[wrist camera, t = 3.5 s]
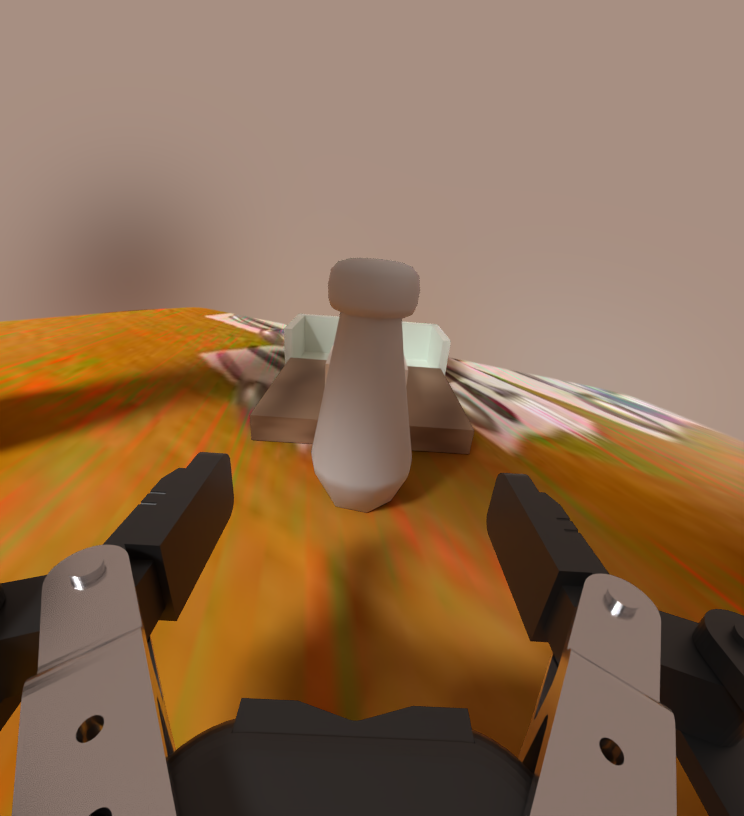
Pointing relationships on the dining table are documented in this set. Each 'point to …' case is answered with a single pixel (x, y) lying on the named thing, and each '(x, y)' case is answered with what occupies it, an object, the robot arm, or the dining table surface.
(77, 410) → the dining table surface
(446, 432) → the board
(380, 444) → the salt shaker
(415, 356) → the tray
